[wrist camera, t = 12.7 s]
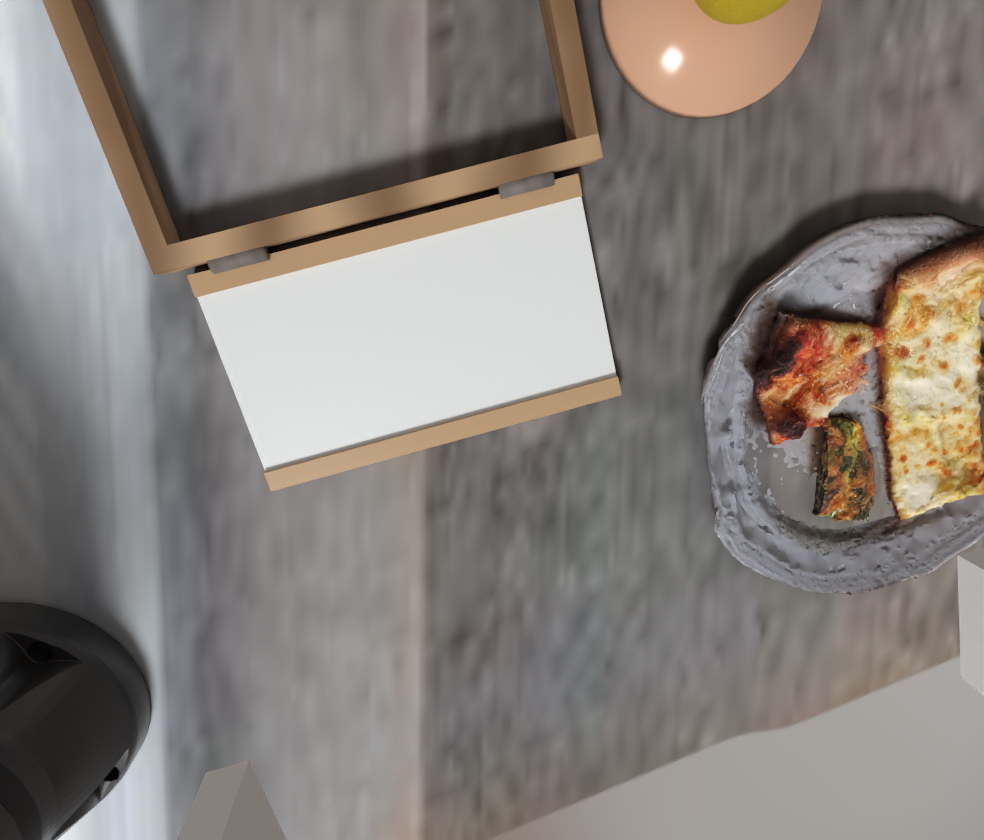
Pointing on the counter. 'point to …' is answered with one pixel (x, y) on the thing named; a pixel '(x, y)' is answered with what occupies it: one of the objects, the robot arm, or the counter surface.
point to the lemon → (739, 9)
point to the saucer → (703, 53)
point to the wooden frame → (253, 240)
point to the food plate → (856, 403)
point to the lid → (413, 332)
